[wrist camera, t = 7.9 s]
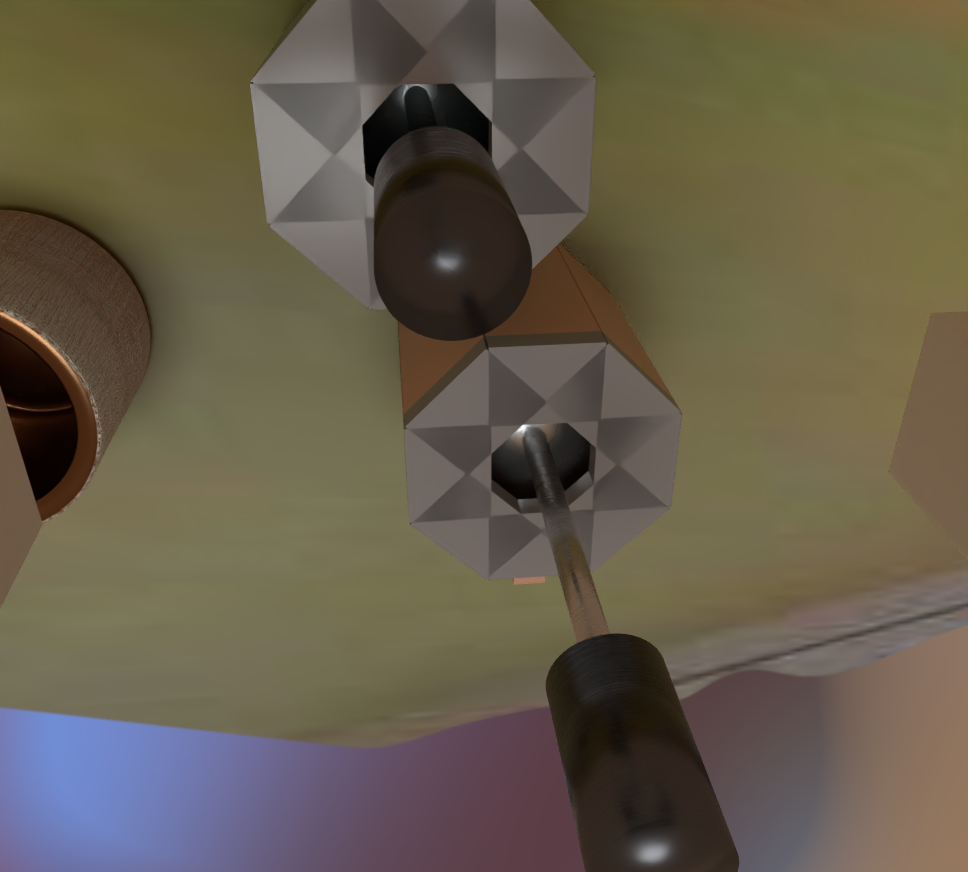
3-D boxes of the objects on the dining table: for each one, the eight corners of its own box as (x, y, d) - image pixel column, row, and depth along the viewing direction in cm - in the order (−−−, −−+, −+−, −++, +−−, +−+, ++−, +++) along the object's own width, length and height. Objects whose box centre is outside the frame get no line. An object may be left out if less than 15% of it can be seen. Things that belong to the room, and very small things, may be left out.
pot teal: (267, -126, 35) (222, -136, 24) (540, -126, 36) (608, -135, 25) (301, 209, 41) (278, 313, 31) (532, 202, 42) (583, 301, 32)
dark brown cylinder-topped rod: (304, -14, 34) (237, 73, 17) (517, -17, 35) (653, 65, 18) (323, 199, 38) (284, 439, 21) (514, 193, 39) (622, 420, 22)
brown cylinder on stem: (431, 347, 35) (485, 769, 18) (636, 338, 36) (873, 735, 19) (437, 519, 39) (486, 995, 22) (621, 507, 40) (806, 960, 23)
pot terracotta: (393, 241, 42) (400, 351, 32) (615, 233, 43) (691, 338, 33) (406, 475, 49) (414, 630, 39) (599, 464, 50) (658, 612, 39)
